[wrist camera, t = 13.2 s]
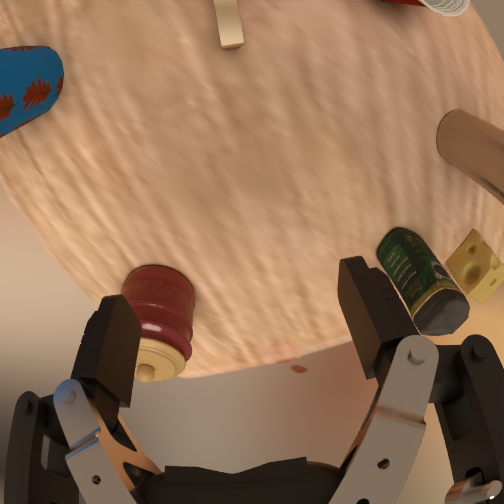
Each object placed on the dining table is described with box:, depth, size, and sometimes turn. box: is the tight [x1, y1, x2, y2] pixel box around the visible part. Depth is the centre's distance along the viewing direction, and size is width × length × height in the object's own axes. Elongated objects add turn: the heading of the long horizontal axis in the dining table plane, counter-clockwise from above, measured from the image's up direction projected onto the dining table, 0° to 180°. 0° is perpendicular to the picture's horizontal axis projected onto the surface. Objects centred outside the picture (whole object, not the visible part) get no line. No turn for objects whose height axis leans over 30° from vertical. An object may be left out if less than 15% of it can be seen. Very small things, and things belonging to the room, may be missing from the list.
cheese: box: [446, 229, 504, 304], centre depth 47 cm, size 10×11×10 cm
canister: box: [121, 265, 195, 383], centre depth 42 cm, size 13×13×18 cm
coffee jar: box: [377, 229, 470, 336], centre depth 40 cm, size 10×8×19 cm
